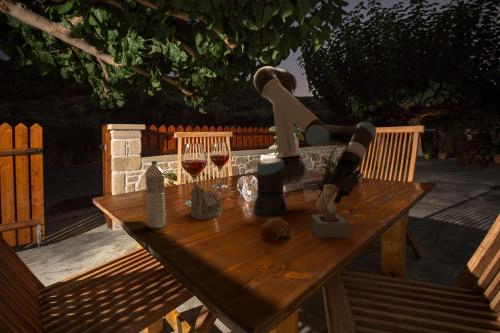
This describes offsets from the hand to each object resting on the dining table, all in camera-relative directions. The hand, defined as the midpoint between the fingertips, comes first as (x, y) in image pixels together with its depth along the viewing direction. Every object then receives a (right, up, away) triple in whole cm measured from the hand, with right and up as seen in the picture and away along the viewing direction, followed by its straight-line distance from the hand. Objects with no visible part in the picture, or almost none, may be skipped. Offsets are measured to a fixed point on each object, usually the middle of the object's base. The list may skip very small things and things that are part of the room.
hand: (323, 208), depth 95 cm
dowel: (+3, -6, +3) cm, 8 cm away
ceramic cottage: (-43, -7, +29) cm, 52 cm away
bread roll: (-16, -10, +1) cm, 19 cm away
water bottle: (-60, -9, +13) cm, 62 cm away
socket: (+3, -9, +4) cm, 10 cm away
